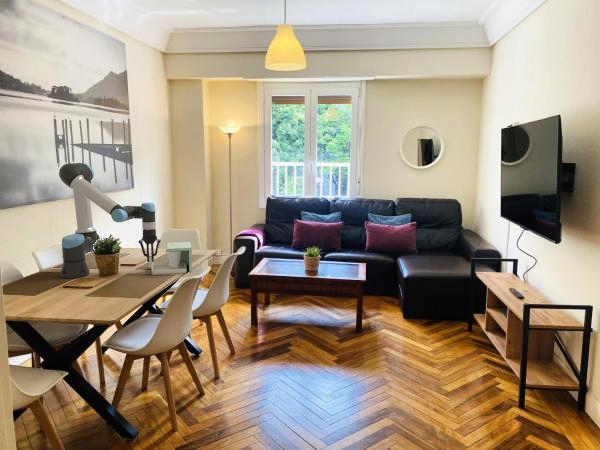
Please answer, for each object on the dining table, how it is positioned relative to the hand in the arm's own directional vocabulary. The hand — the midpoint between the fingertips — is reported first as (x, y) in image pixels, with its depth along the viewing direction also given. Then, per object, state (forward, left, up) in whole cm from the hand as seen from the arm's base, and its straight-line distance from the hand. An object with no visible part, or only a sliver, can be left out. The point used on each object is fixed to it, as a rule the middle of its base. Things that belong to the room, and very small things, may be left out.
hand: (150, 267), depth 267 cm
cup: (+14, +3, -2) cm, 14 cm away
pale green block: (+17, +1, -3) cm, 17 cm away
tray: (+11, 0, -3) cm, 11 cm away
